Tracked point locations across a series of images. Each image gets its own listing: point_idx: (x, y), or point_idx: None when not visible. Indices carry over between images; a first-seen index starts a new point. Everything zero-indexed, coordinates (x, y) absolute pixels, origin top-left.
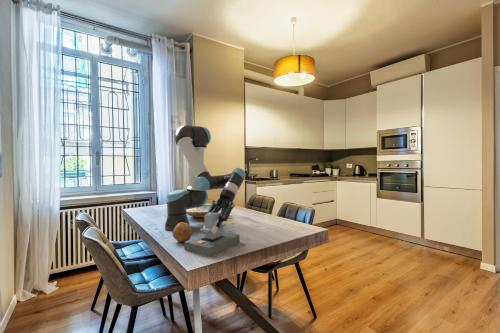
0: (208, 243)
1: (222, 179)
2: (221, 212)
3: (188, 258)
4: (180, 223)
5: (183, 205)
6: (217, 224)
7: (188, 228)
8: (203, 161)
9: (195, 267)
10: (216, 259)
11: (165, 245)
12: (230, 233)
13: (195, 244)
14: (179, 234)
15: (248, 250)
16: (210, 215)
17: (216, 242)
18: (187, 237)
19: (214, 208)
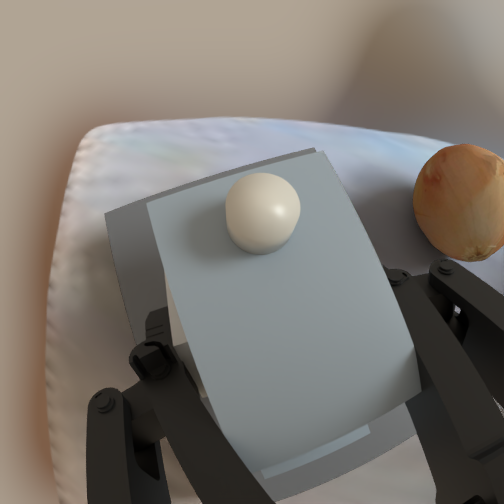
0: None
1: None
2: (213, 463)
3: (183, 151)
4: (493, 158)
5: None
6: (160, 318)
7: (456, 204)
8: None
9: (84, 148)
10: (77, 246)
11: (414, 143)
12: (283, 487)
13: (219, 173)
14: (427, 163)
15: (69, 441)
16: (208, 201)
17: (154, 297)
18: (416, 215)
19: (484, 405)
